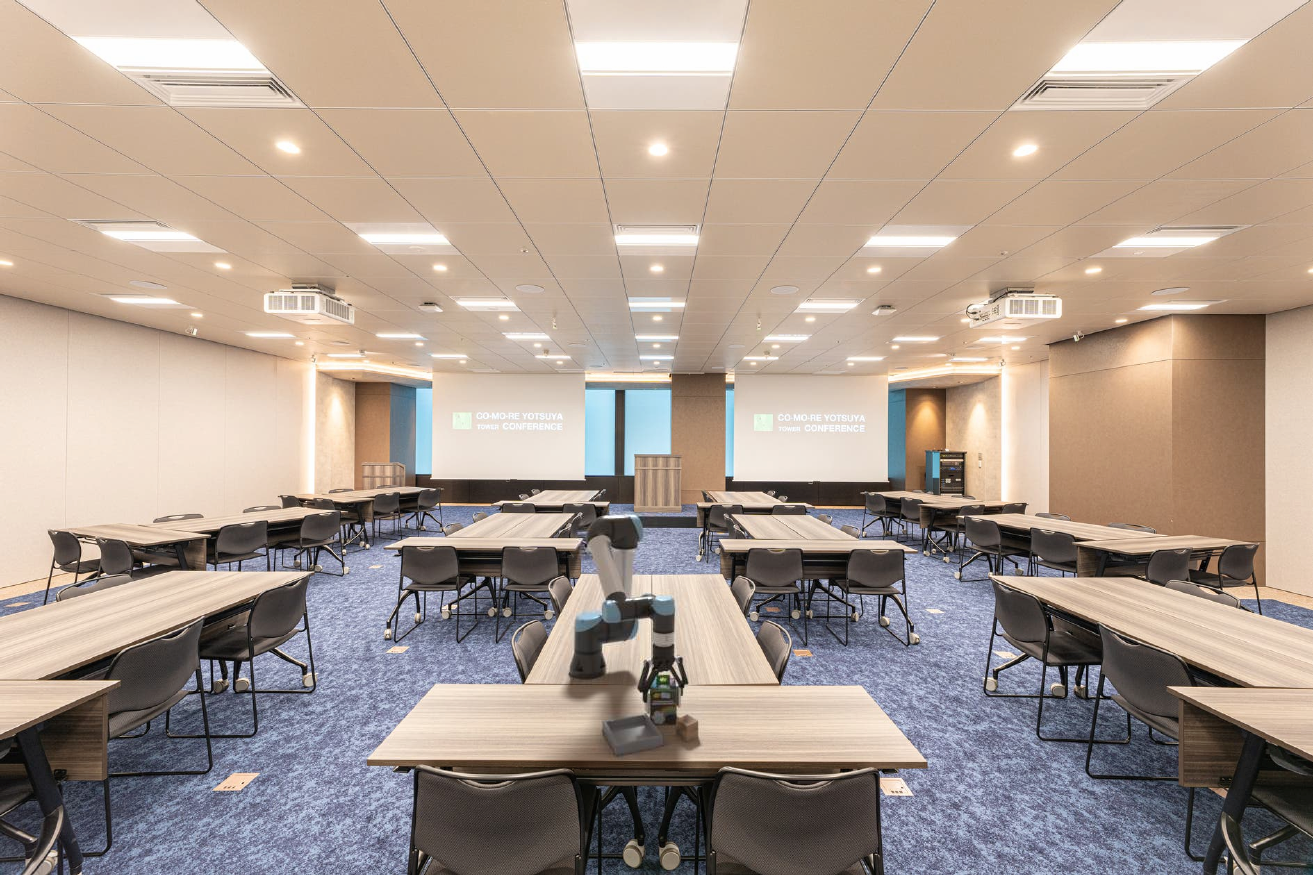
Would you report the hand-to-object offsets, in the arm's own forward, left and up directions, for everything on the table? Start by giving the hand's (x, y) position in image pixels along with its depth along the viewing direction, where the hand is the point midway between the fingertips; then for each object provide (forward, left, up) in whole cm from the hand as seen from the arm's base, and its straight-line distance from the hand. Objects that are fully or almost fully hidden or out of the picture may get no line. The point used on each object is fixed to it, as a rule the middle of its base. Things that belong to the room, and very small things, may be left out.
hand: (662, 708), depth 168 cm
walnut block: (+13, +3, -3) cm, 14 cm away
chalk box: (0, 0, -3) cm, 3 cm away
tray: (+8, -14, -3) cm, 16 cm away
